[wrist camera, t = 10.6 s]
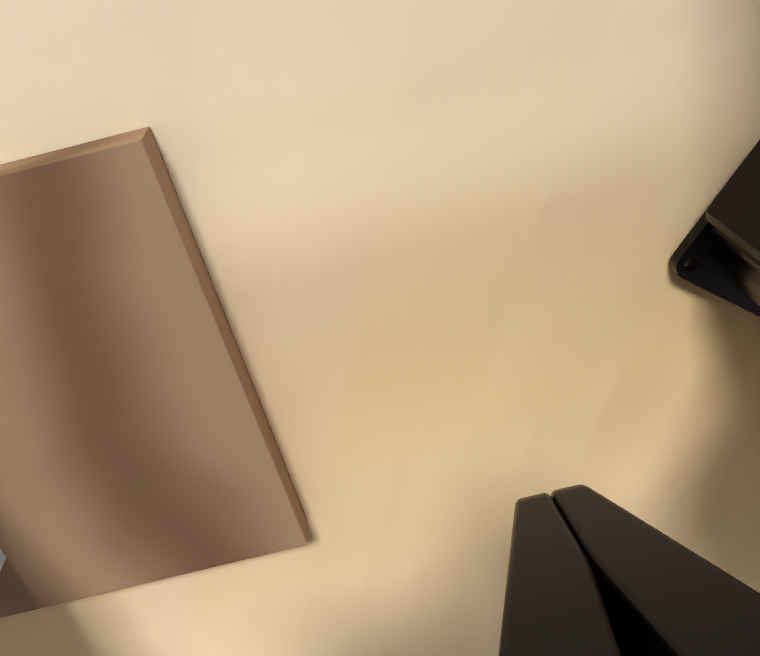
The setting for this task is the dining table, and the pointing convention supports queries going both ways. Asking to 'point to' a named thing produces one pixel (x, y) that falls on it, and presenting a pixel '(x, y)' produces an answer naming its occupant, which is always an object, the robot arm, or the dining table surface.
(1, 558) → the carton
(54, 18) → the dining table surface
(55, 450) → the podium board
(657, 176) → the dining table surface
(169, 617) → the dining table surface
